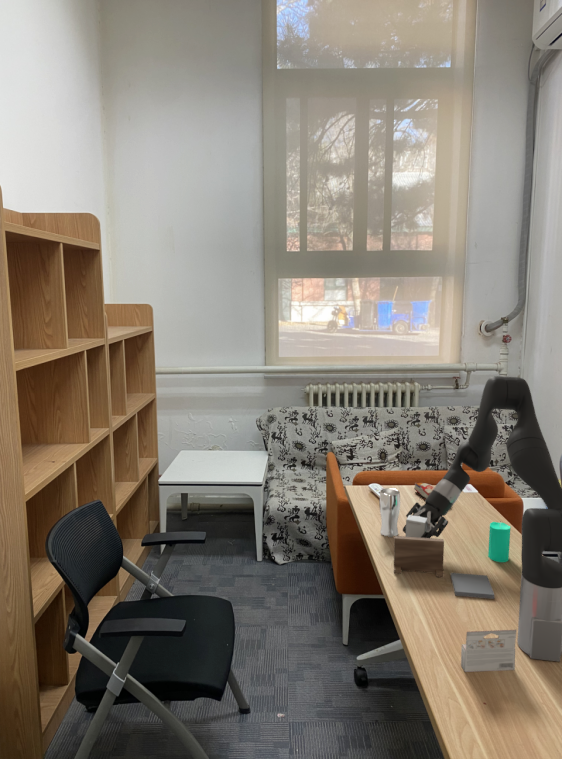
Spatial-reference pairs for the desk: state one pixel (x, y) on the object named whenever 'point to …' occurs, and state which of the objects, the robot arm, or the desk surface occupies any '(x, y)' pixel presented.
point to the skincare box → (415, 526)
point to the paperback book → (424, 489)
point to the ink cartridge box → (489, 651)
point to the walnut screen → (418, 555)
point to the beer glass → (389, 511)
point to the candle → (499, 542)
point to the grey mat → (472, 585)
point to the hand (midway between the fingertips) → (412, 537)
